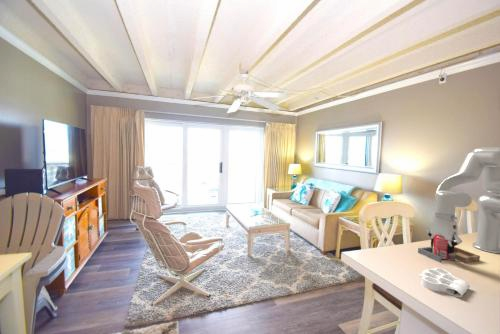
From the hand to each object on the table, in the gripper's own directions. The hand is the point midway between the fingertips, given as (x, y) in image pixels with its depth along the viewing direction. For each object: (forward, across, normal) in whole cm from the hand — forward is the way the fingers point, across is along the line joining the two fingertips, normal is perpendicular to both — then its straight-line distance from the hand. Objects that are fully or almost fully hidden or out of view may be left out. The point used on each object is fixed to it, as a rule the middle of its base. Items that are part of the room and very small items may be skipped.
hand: (441, 249), depth 112 cm
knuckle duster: (+5, -17, +26) cm, 31 cm away
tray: (+5, -1, -12) cm, 13 cm away
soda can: (+4, 0, 0) cm, 4 cm away
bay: (+5, +2, 0) cm, 5 cm away
